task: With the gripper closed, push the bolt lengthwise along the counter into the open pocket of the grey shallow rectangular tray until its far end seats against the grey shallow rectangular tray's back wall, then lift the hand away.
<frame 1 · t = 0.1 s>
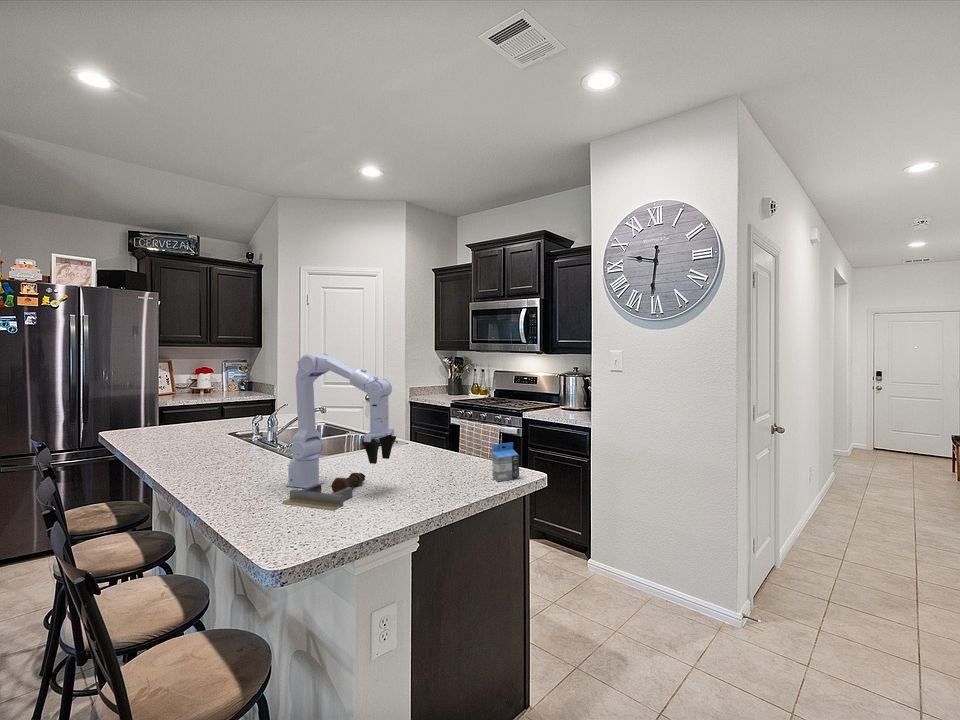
hand: (379, 461, 159), 10 cm above the countertop, tool pointing down, fingers open, 7 cm apart
bolt: (351, 489, 165), on the countertop
grey shallow rectangular tray: (326, 498, 152), on the countertop
label tape box: (505, 479, 175), on the countertop
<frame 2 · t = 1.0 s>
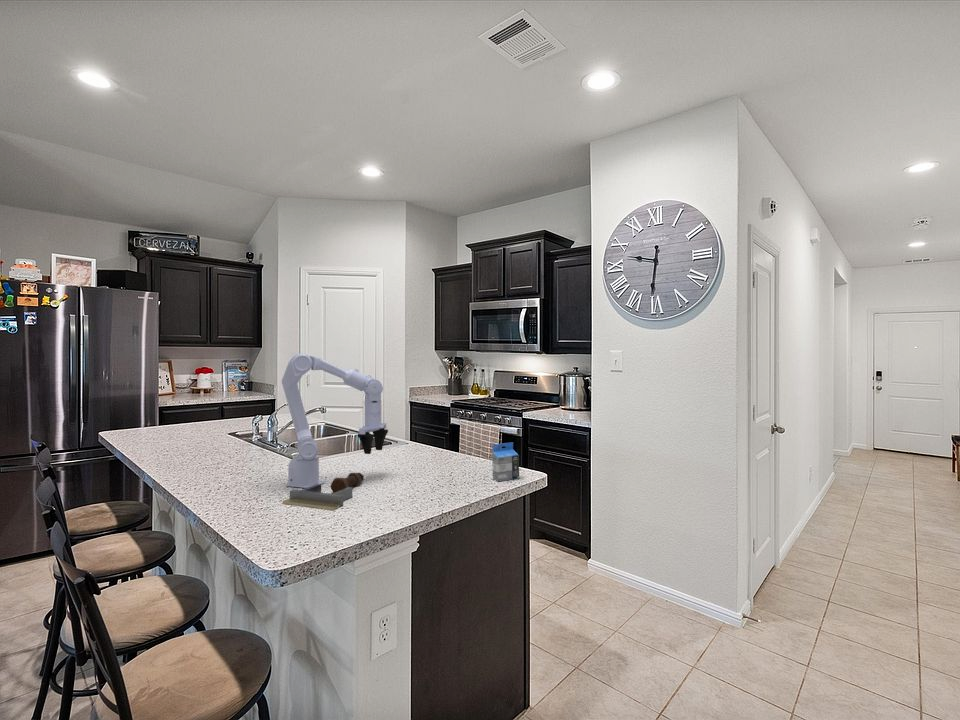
hand: (373, 451, 177), 9 cm above the countertop, tool pointing down, fingers open, 7 cm apart
nothing on the countertop moved.
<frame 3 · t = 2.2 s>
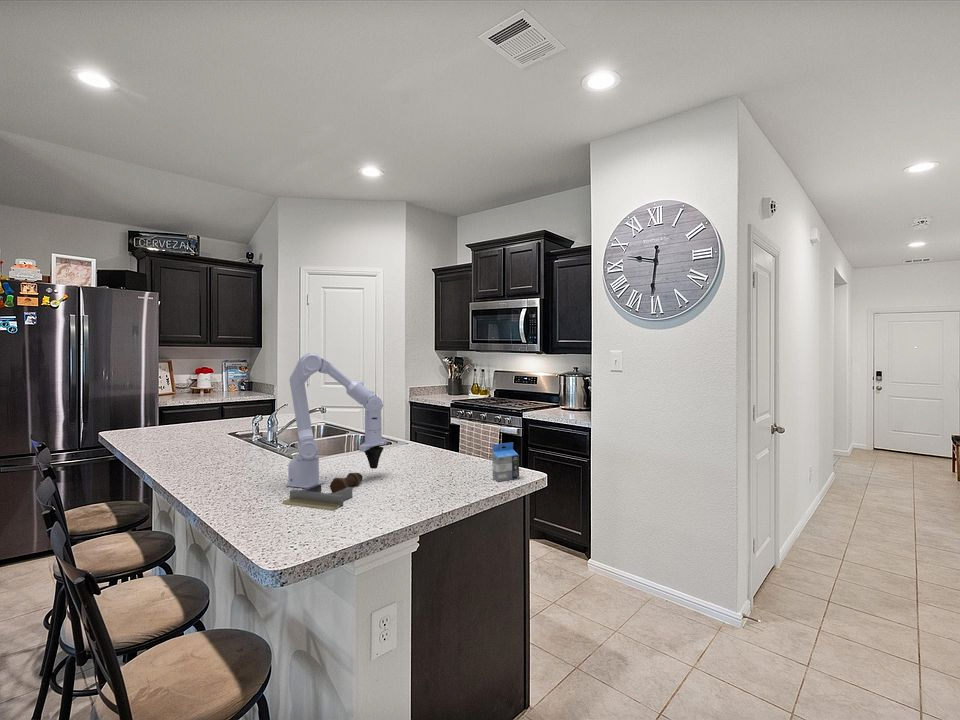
hand: (373, 468, 177), 4 cm above the countertop, tool pointing down, fingers closed
nothing on the countertop moved.
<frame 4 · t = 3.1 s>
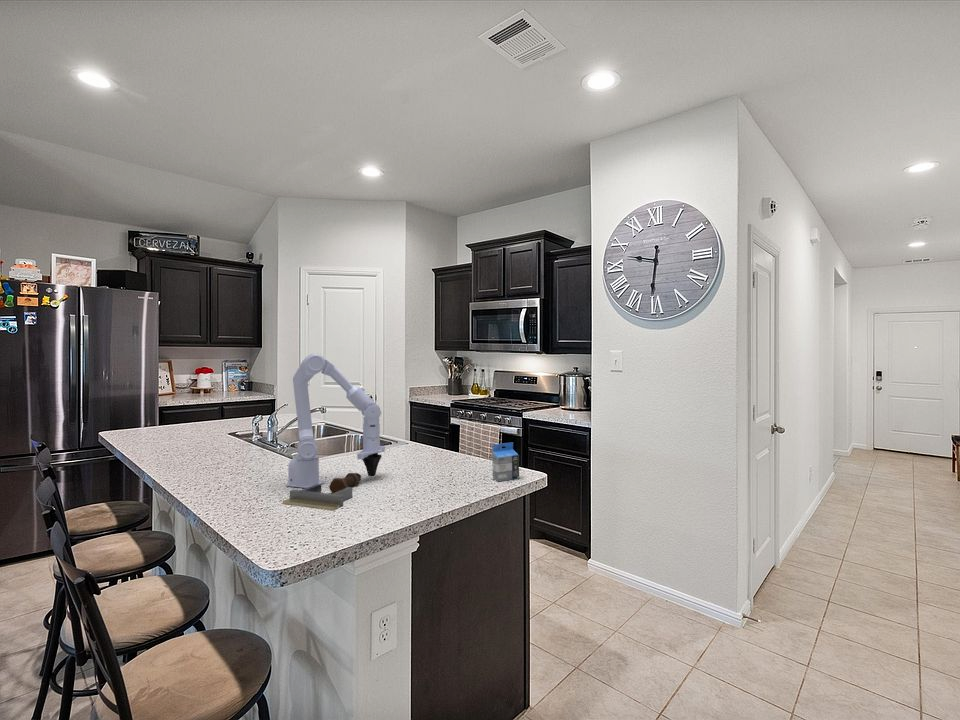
hand: (371, 475, 176), 1 cm above the countertop, tool pointing down, fingers closed
nothing on the countertop moved.
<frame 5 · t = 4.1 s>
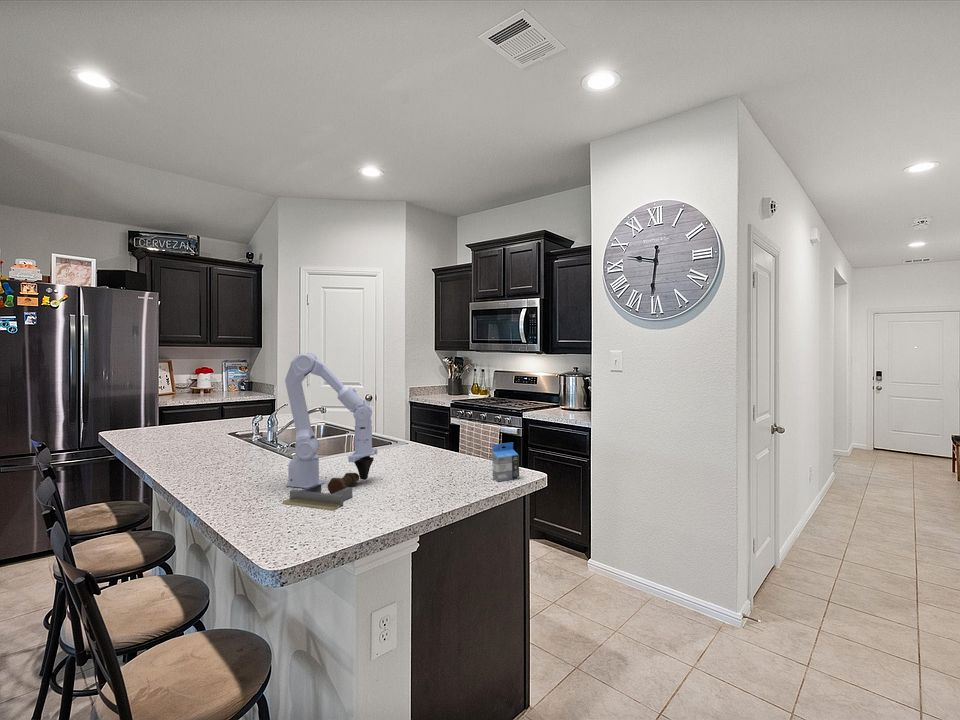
hand: (363, 479, 171), 1 cm above the countertop, tool pointing down, fingers closed
bolt: (346, 489, 164), on the countertop, touching gripper
everything else where it was.
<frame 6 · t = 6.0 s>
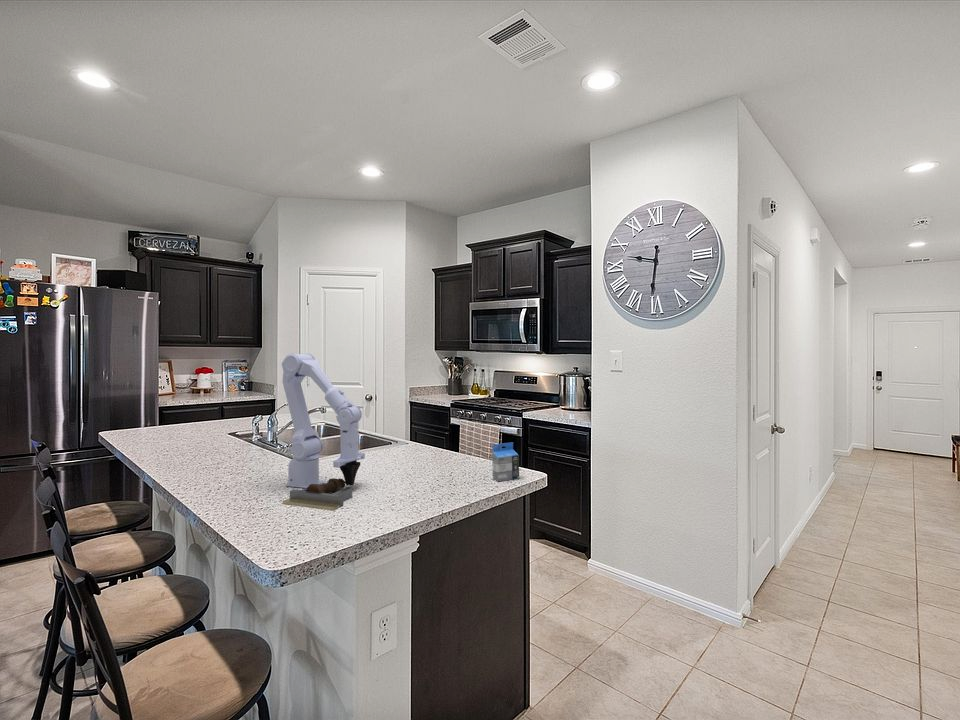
hand: (349, 484, 164), 1 cm above the countertop, tool pointing down, fingers closed
bolt: (328, 496, 157), resting in grey shallow rectangular tray, touching gripper
everything else where it was.
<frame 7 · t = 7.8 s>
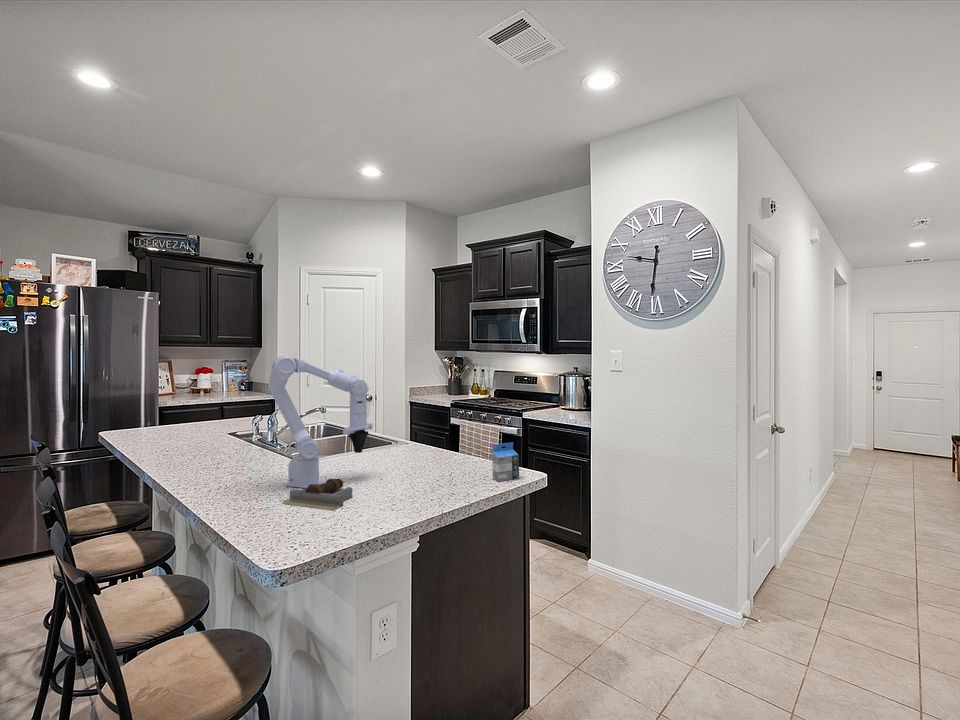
hand: (358, 452, 176), 9 cm above the countertop, tool pointing down, fingers closed
bolt: (327, 496, 157), resting in grey shallow rectangular tray
everything else where it was.
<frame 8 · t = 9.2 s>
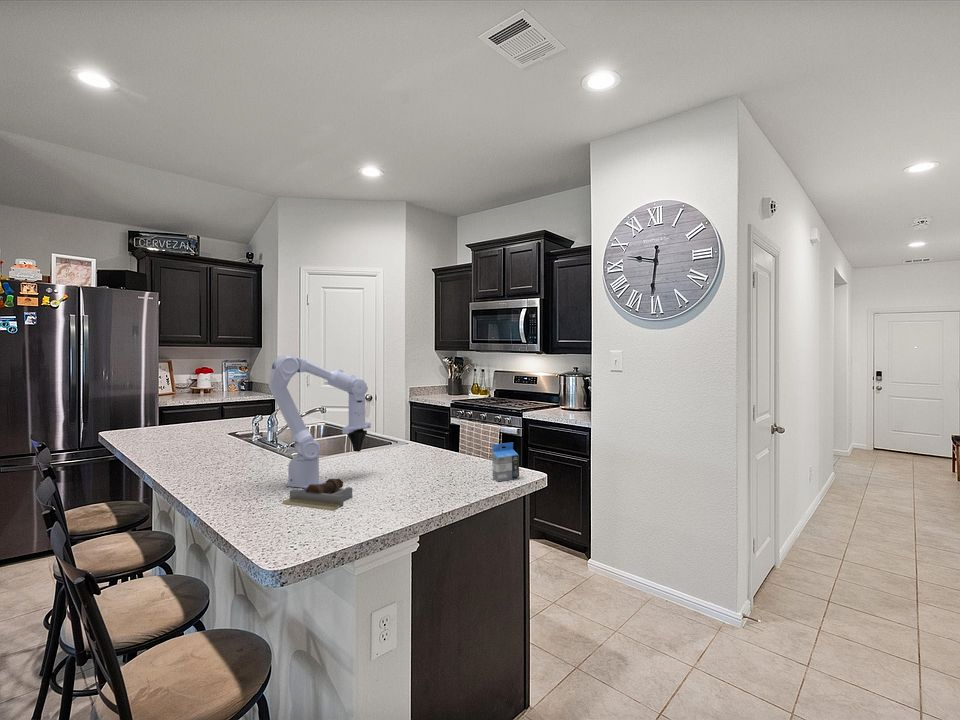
hand: (357, 451, 178), 9 cm above the countertop, tool pointing down, fingers closed
nothing on the countertop moved.
at the end: bolt inside the target area on the grey shallow rectangular tray (2.4 cm from its centre), point 0.0 cm above the grey shallow rectangular tray's base; bolt moved 9.7 cm from its start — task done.
